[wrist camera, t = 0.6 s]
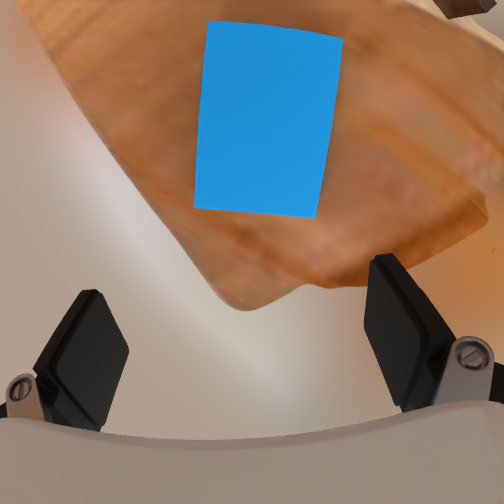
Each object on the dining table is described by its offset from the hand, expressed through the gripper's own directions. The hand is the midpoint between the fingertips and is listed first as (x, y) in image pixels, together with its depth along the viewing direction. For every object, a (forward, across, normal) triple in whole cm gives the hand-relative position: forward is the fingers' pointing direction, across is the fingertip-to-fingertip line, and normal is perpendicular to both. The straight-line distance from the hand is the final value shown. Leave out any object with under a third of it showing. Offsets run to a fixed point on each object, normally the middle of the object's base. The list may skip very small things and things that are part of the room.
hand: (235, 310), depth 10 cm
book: (+34, -4, -4) cm, 34 cm away
